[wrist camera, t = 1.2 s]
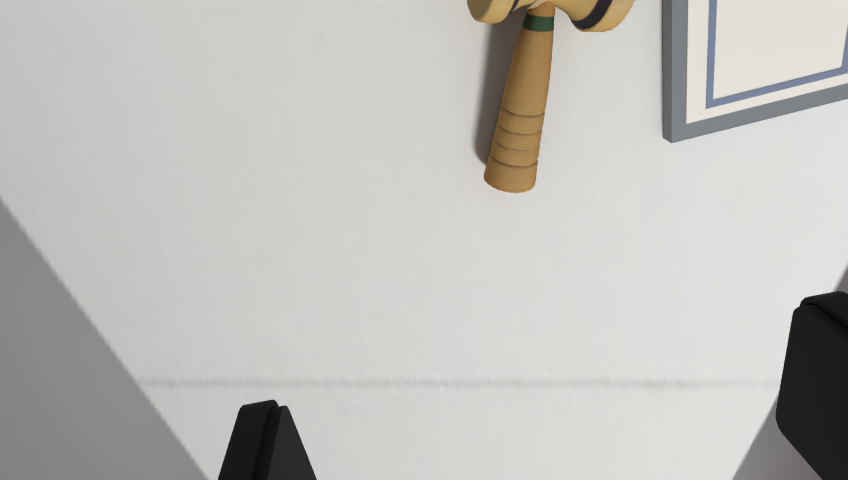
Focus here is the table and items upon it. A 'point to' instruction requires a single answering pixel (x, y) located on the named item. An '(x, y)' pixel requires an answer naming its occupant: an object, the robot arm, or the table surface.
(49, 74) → the table surface
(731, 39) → the picture frame
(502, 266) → the table surface
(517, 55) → the kendama
